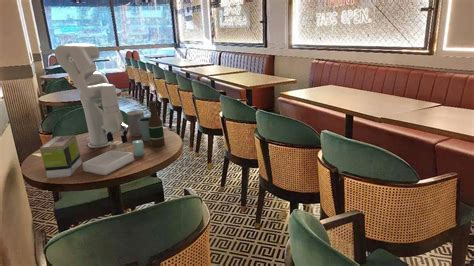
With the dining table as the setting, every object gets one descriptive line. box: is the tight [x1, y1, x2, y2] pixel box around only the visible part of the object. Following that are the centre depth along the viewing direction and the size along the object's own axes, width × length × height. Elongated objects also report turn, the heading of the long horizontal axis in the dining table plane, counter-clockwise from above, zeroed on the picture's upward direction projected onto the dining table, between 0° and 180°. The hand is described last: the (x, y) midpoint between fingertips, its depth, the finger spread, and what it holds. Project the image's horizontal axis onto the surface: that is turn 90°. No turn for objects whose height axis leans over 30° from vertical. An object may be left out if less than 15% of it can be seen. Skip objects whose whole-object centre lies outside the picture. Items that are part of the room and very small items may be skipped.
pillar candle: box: [126, 109, 145, 137], centre depth 198 cm, size 10×10×15 cm
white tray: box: [81, 149, 135, 176], centre depth 153 cm, size 14×18×4 cm
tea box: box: [39, 134, 83, 179], centre depth 149 cm, size 15×10×15 cm, turn 5°
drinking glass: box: [138, 116, 150, 142], centre depth 188 cm, size 10×10×12 cm
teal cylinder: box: [131, 139, 146, 158], centre depth 165 cm, size 5×5×7 cm
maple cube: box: [109, 140, 126, 152], centre depth 171 cm, size 5×5×5 cm
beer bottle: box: [148, 100, 165, 148], centre depth 175 cm, size 8×8×24 cm
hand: (117, 142), depth 169 cm, fingers open, 9 cm apart
